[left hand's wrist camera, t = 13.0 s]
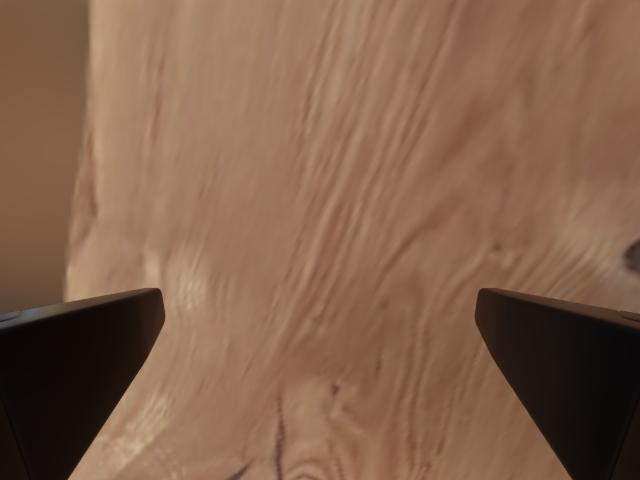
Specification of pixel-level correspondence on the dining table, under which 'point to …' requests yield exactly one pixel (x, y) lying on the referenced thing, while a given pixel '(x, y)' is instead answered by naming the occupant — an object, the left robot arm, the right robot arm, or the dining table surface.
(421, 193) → the dining table surface
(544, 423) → the left robot arm
